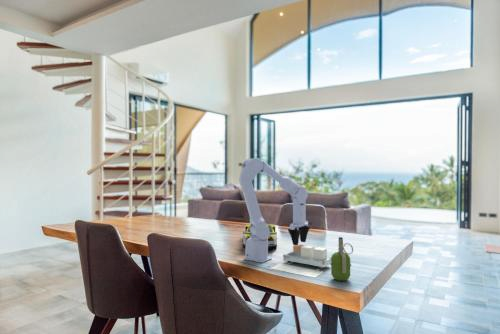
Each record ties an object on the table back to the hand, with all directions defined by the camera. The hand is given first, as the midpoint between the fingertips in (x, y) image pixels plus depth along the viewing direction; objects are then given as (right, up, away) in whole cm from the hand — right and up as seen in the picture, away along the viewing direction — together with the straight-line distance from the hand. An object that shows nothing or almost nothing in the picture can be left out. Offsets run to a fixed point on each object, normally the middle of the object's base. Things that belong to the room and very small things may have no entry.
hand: (299, 243), depth 146 cm
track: (-2, -6, -17) cm, 18 cm away
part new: (0, -6, 0) cm, 6 cm away
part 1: (+1, -3, -13) cm, 14 cm away
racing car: (-17, -7, +27) cm, 32 cm away
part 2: (+6, -3, -16) cm, 18 cm away
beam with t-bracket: (+3, -6, -10) cm, 12 cm away
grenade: (+10, -6, -32) cm, 34 cm away
